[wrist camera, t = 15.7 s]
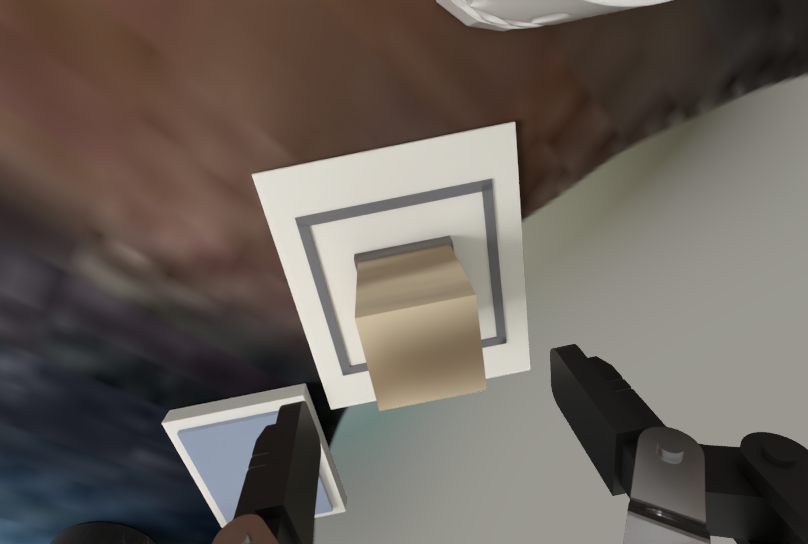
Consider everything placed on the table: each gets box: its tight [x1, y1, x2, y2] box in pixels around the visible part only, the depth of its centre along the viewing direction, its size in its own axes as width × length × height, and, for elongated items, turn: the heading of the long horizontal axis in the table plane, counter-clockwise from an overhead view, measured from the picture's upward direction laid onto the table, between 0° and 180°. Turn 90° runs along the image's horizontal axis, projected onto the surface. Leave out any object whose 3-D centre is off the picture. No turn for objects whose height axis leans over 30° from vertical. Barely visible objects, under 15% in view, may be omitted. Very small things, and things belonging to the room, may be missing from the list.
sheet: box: [252, 122, 530, 410], centre depth 21 cm, size 14×12×1 cm
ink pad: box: [162, 383, 347, 528], centre depth 25 cm, size 10×8×1 cm
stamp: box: [354, 235, 487, 411], centre depth 19 cm, size 5×5×6 cm
